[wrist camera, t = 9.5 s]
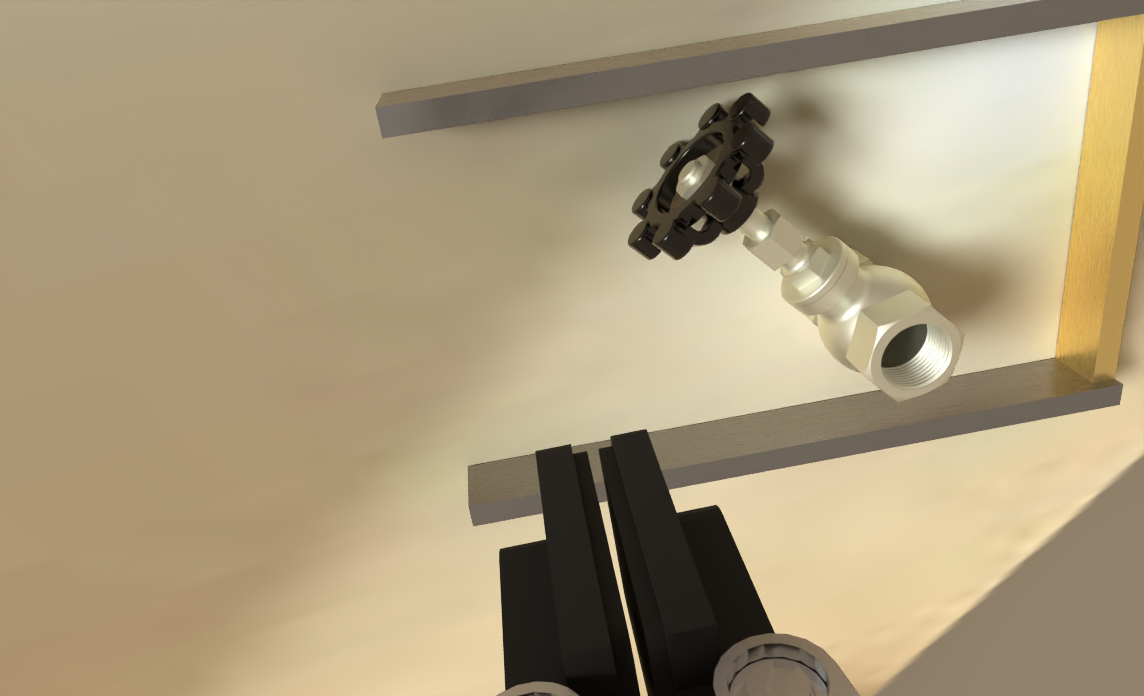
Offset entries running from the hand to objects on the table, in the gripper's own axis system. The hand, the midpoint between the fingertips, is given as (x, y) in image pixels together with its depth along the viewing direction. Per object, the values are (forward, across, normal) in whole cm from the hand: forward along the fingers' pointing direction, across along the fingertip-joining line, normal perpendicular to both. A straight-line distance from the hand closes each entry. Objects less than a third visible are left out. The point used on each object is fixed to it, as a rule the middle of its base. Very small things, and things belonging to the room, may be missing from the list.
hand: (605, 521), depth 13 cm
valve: (+22, -10, +5) cm, 24 cm away
